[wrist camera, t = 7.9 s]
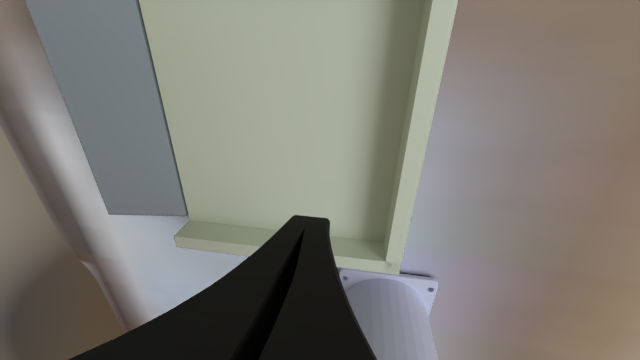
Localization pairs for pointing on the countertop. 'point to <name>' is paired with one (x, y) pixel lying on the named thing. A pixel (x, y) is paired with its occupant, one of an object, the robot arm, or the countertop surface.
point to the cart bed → (300, 117)
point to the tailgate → (113, 101)
